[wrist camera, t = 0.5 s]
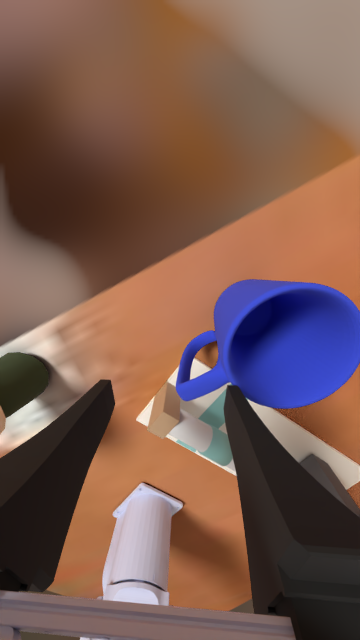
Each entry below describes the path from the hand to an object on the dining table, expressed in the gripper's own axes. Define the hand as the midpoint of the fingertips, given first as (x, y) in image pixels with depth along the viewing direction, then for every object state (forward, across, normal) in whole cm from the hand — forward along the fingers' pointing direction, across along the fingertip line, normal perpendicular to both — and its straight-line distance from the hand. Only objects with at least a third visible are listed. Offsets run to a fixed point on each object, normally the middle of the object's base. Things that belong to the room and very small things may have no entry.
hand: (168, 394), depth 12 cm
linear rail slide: (+8, -11, +18) cm, 23 cm away
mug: (+11, -6, 0) cm, 12 cm away
